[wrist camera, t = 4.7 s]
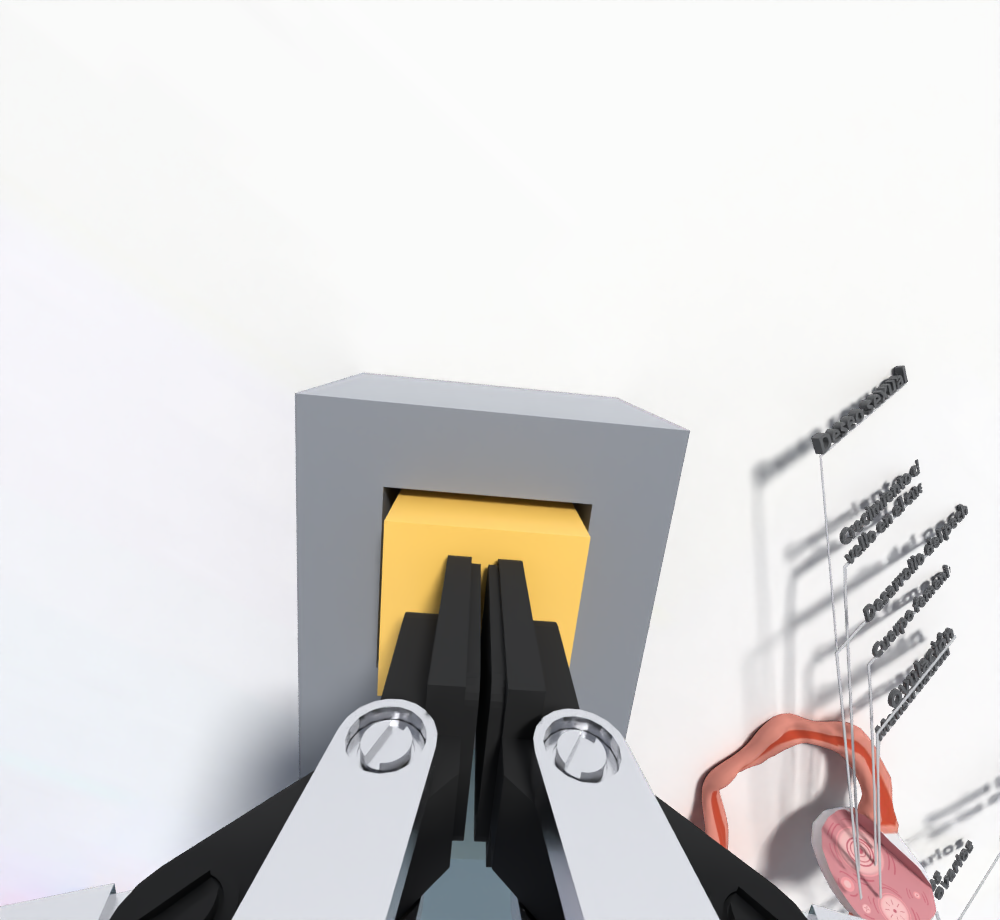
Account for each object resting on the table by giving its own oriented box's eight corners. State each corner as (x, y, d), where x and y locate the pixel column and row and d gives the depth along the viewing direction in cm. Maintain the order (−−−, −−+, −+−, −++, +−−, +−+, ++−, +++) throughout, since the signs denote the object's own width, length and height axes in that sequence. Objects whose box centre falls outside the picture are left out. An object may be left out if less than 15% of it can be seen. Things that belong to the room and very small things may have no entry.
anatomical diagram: (854, 1178, 17) (598, 701, 10) (674, 931, 25) (462, 570, 18) (1087, 776, 23) (1034, 304, 16) (884, 682, 31) (788, 339, 24)
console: (617, 397, 17) (689, 430, 11) (536, 885, 23) (554, 1074, 17) (363, 372, 16) (294, 393, 10) (350, 879, 22) (303, 1072, 16)
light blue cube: (535, 721, 14) (554, 862, 11) (519, 828, 16) (531, 990, 12) (393, 713, 14) (359, 855, 10) (387, 823, 15) (355, 988, 11)
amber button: (560, 481, 14) (590, 537, 10) (542, 610, 15) (563, 706, 11) (412, 468, 14) (384, 520, 10) (405, 600, 15) (377, 695, 11)
